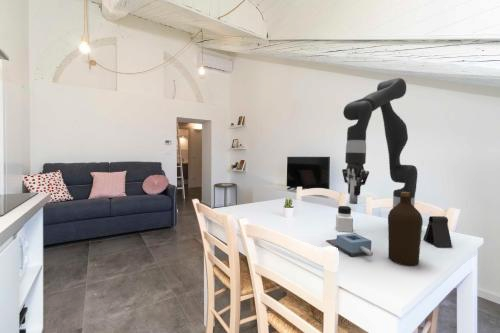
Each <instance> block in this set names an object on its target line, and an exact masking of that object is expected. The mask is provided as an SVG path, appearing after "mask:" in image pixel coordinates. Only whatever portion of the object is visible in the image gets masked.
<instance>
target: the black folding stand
mask: <svg viewBox="0 0 500 333" xmlns="http://www.w3.org/2000/svg"><path fill="white" fill-rule="evenodd" d="M448 223H449V218H448V217H447V216H443V215H441V216H439V215H437V216H434V215H433V216H432V215H430V216H429V217H428V224H427V227H426V230H425V232H424V235H423V236H424V237H423V238H422V239H423V241H424V242H425V243H427V244H430V245H431V246H434V247H435V248H436V249H439V248H440V249H447V248H448V249H453V243H452V239H451V234H450V229H449V224H448Z"/></svg>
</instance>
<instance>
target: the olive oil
mask: <svg viewBox="0 0 500 333" xmlns="http://www.w3.org/2000/svg"><path fill="white" fill-rule="evenodd" d="M387 216H388V217H387V232H388V234H387V235H388V236H387V237H388V239H387V240H388V259H389V260H390V261H391V262H393V263H395V264H397V265H398V264H399V265H402V266H407V267H408V266H409V267H415V266H418V265H419V264H420V251H421V242H422V234H423V233H422V232H423V223H424V222H423V221H424V220H423V216H422V214H421V213H420V211H419V210H418V209H417V208H416V207H415V205H414V206H413V205H412V204H411V193H410V192H401V196H400V203H399V204H397V205H396V206H395V207H394V208H393V207H392V208H391V210H390V211H389V212H388V215H387Z"/></svg>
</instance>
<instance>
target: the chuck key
mask: <svg viewBox="0 0 500 333" xmlns="http://www.w3.org/2000/svg"><path fill="white" fill-rule="evenodd" d="M348 177H349V178H350V194H349V201H348V202H349V204H350V205H358V201H359V200H358V198H359V196H356V195H354V186H355V185H354V180H353V173H352V171H351V175H348ZM356 178H359V177H356ZM357 183H358V180H357Z"/></svg>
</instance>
